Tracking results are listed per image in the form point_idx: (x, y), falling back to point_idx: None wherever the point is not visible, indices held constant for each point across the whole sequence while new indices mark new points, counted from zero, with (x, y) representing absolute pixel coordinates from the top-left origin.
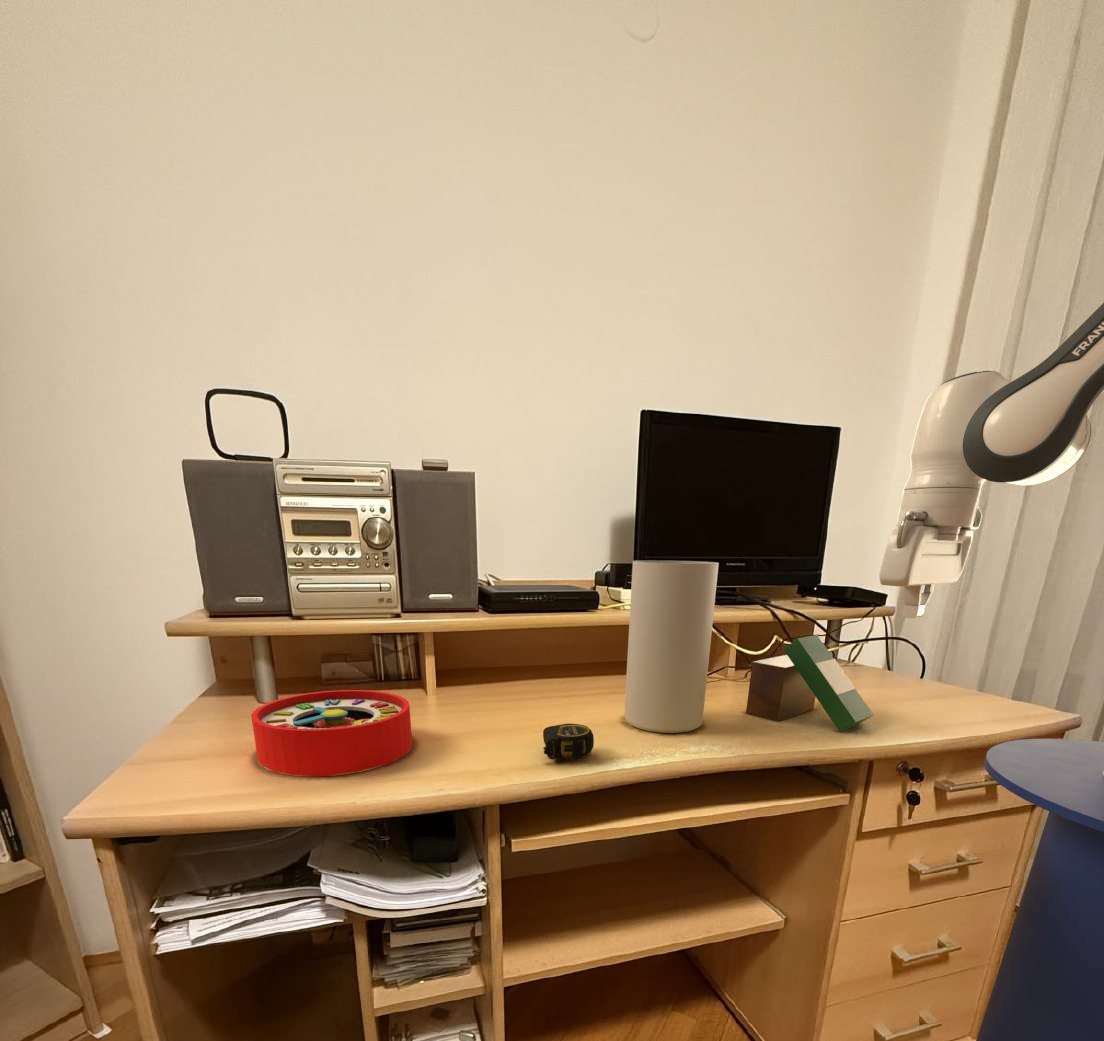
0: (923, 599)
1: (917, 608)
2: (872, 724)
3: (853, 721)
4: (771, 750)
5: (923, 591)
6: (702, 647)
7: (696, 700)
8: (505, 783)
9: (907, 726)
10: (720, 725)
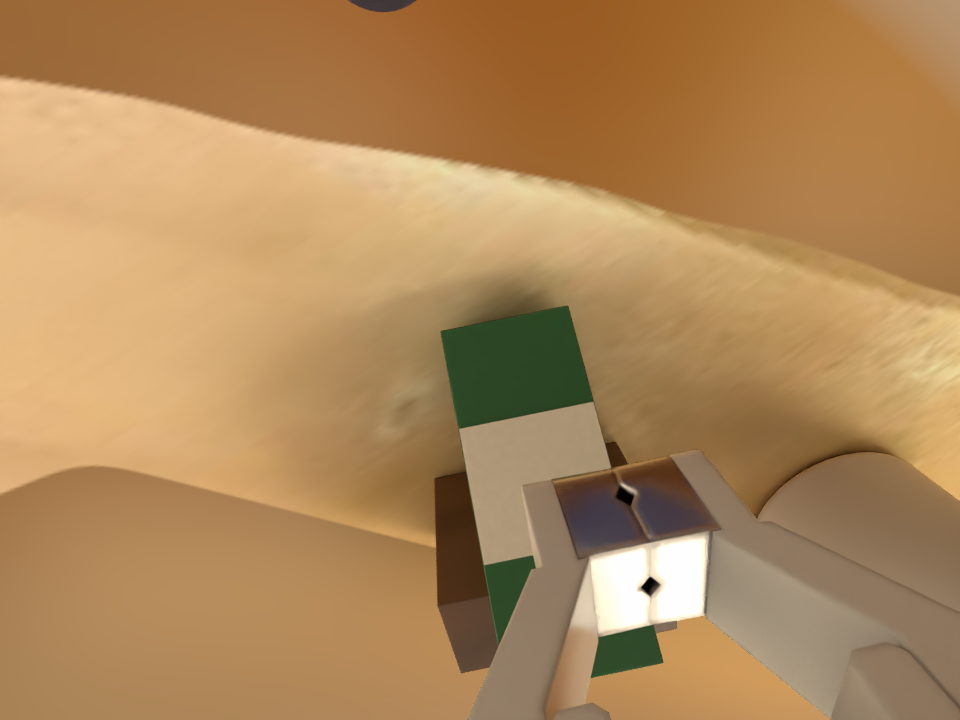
0: (578, 630)
1: (740, 500)
2: (405, 333)
3: (569, 311)
4: (843, 297)
5: (867, 669)
6: None
7: (910, 501)
8: None
9: (316, 277)
10: (752, 463)
